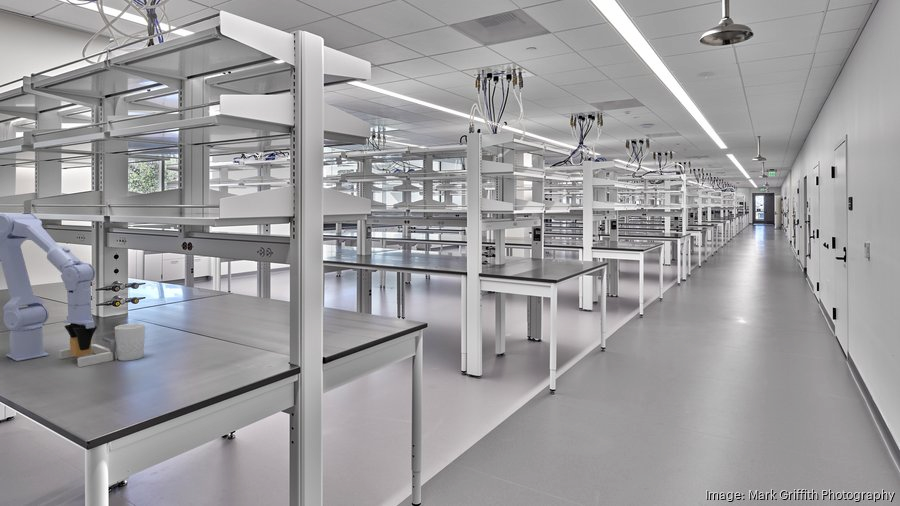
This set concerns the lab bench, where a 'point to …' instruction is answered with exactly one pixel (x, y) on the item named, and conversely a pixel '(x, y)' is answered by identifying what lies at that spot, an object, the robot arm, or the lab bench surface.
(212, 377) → the lab bench surface
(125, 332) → the white cup
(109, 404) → the lab bench surface
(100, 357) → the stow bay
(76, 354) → the tan wooden cube
